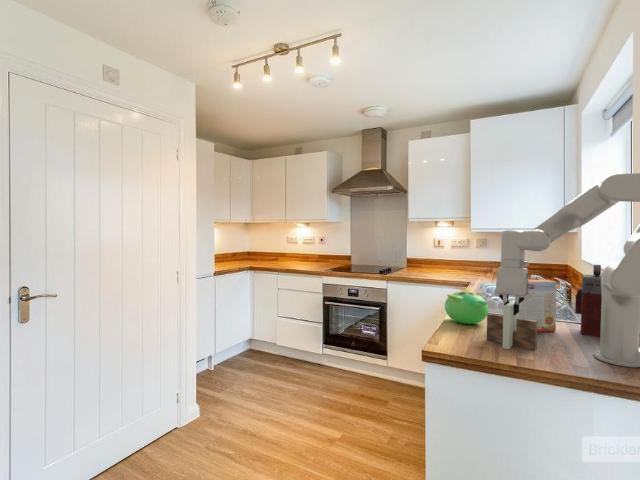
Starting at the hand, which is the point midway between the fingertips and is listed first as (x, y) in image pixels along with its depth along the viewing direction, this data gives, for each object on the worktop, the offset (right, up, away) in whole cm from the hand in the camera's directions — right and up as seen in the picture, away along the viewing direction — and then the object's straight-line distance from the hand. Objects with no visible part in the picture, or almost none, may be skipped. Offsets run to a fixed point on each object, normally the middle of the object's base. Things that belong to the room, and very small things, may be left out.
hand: (511, 313), depth 127 cm
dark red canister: (+39, -11, +13) cm, 43 cm away
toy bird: (-5, -10, +28) cm, 30 cm away
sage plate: (0, -11, 0) cm, 11 cm away
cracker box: (+19, -11, +17) cm, 28 cm away
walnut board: (0, -11, +1) cm, 11 cm away
